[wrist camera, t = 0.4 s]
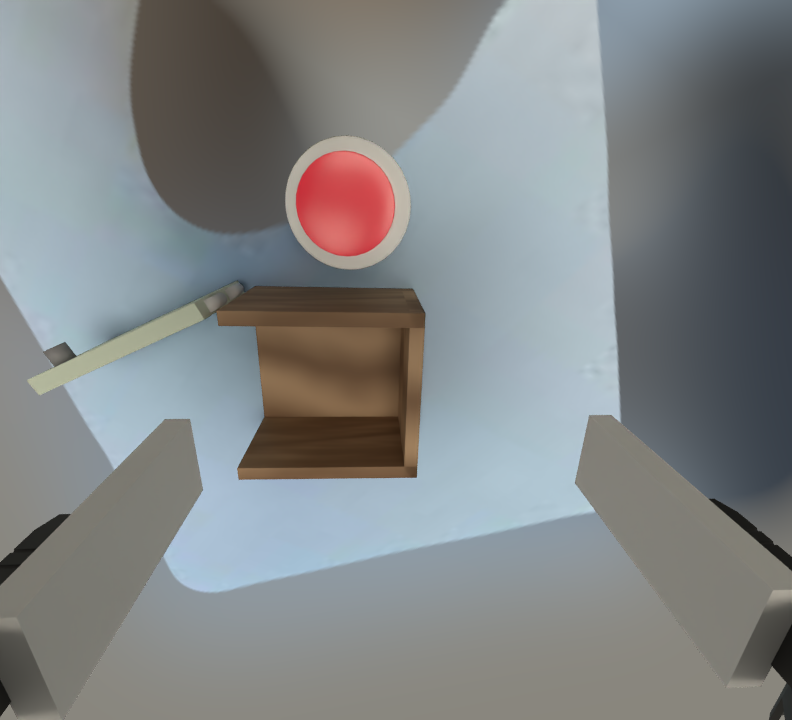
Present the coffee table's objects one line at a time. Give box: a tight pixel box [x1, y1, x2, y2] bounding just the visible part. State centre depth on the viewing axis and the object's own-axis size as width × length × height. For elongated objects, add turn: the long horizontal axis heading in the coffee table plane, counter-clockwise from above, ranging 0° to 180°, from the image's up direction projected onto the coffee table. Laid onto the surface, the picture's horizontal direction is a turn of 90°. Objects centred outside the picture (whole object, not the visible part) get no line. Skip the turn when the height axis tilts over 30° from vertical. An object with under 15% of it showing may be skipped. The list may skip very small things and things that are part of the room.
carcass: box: [217, 286, 425, 480], centre depth 33 cm, size 13×14×9 cm
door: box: [27, 280, 245, 395], centre depth 30 cm, size 13×2×9 cm, turn 114°
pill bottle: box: [285, 135, 411, 270], centre depth 27 cm, size 8×8×11 cm
